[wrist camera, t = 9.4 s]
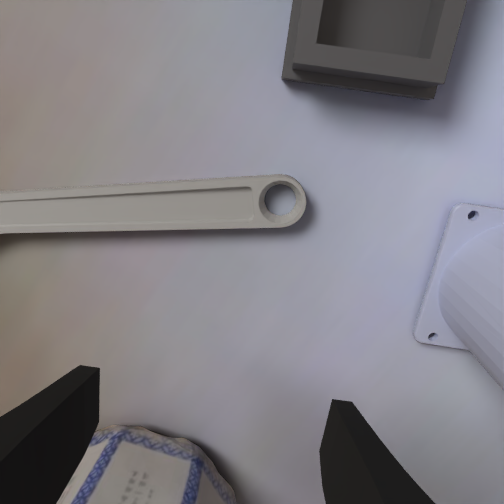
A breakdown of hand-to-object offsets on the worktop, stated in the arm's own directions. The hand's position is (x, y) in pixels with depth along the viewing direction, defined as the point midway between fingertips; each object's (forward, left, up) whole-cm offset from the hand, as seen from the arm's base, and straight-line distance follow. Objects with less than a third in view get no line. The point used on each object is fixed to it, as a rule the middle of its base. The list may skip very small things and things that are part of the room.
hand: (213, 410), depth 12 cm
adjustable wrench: (+10, -2, -11) cm, 15 cm away
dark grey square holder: (-4, -14, -10) cm, 18 cm away
